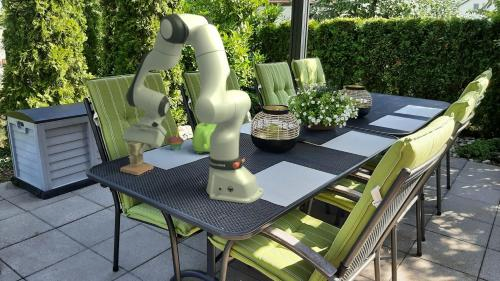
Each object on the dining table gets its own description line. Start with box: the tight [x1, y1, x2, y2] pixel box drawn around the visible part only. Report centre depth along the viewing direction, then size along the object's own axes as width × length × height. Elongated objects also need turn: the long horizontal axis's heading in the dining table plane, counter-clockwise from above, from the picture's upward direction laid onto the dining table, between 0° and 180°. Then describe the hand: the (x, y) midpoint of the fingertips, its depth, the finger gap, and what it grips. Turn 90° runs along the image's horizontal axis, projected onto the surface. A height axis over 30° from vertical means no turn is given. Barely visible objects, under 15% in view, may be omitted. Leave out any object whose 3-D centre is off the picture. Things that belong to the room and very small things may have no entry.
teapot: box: [191, 122, 217, 154], centre depth 196 cm, size 25×22×16 cm
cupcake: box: [166, 128, 184, 151], centre depth 197 cm, size 9×8×12 cm
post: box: [128, 142, 144, 165], centre depth 165 cm, size 4×4×9 cm
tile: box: [120, 162, 155, 176], centre depth 167 cm, size 10×10×2 cm
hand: (135, 152), depth 164 cm, fingers closed on post, 4 cm apart
